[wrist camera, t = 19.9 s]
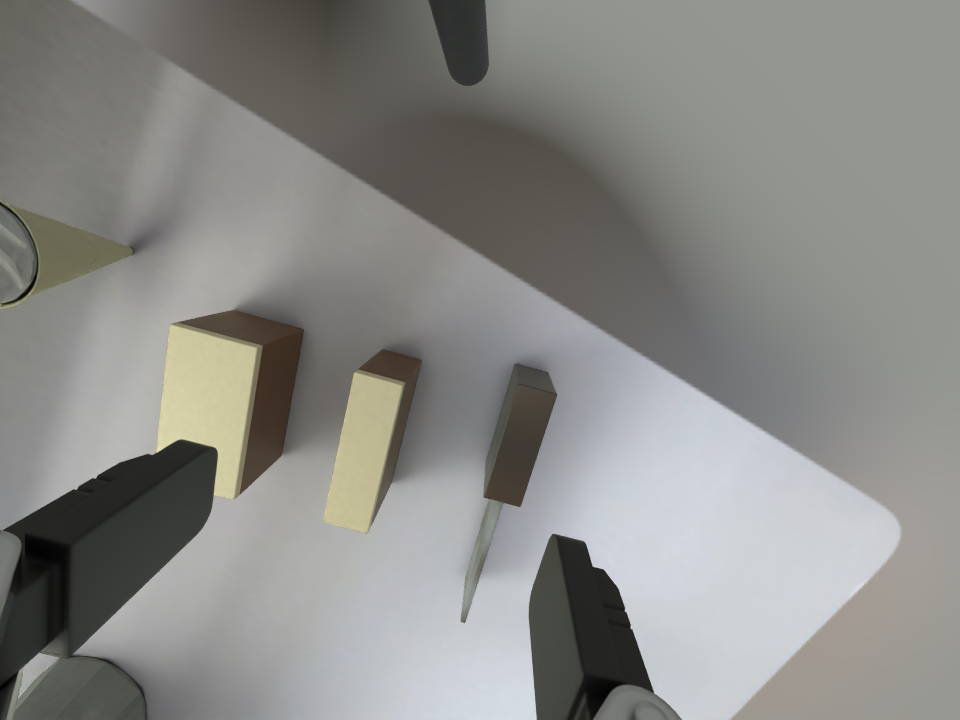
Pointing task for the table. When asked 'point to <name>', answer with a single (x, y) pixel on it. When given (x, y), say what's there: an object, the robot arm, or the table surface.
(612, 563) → the table surface
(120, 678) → the coffeepot
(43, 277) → the ice cream cone
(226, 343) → the cake
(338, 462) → the cake slice
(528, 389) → the knife
